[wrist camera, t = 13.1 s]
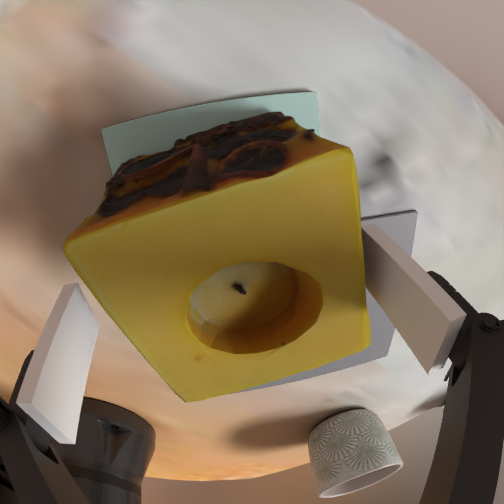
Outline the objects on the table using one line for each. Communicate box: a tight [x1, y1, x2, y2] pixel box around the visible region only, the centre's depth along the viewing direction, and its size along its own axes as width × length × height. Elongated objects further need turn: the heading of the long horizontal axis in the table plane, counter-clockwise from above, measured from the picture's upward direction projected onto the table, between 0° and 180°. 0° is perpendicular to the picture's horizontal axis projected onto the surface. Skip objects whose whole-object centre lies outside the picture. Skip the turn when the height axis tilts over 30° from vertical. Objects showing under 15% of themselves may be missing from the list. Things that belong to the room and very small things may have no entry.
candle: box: [64, 112, 371, 402], centre depth 15 cm, size 10×10×10 cm
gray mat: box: [231, 210, 418, 394], centre depth 27 cm, size 18×18×1 cm
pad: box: [101, 92, 320, 176], centre depth 20 cm, size 13×13×1 cm
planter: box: [308, 409, 403, 498], centre depth 36 cm, size 12×12×11 cm
